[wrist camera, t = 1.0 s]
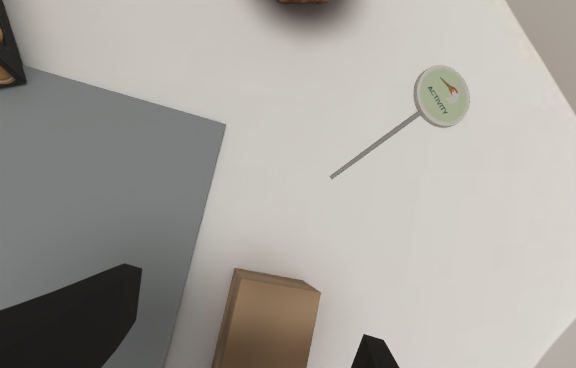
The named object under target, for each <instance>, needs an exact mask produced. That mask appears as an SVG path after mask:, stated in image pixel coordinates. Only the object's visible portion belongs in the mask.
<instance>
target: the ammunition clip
mask: <svg viewBox="0 0 576 368" xmlns="http://www.w3.org/2000/svg"><path fill="white" fill-rule="evenodd" d="M26 82H27V80H26V76H25V73H24V70H23V67H22V64H21V60H20V57H19V54H18V51H17V48H16V44H15V41H14V38H13V35H12V32H11V28H10V25H9V22H8V19H7V16H6V12H5V9H4V6H3V3H2V0H0V88H5V87H10V86H16V85H21V84H25V83H26Z"/></svg>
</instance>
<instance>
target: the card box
mask: <svg viewBox="0 0 576 368" xmlns="http://www.w3.org/2000/svg"><path fill="white" fill-rule="evenodd" d="M320 295H321V292H319V291H318V290H316V289H315V288H313V287H312V286H310V285H309V284H307V283H306V282H304V281H302V280H297V279H292V278H286V277H281V276H275V275H270V274H264V273H259V272H254V271H248V270H243V269H237V268H235V269H234V273H233V277H232V282H231V286H230V290H229V294H228V299H227V303H226V307H225V312H224V316H223V320H222V325H221V329H220V333H219V337H218V342H217V346H216V350H215V355H214V359H213V363H212V368H306V367H307V362H308V357H309V351H310V346H311V341H312V336H313V331H314V326H315V321H316V315H317V310H318V305H319V300H320Z"/></svg>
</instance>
